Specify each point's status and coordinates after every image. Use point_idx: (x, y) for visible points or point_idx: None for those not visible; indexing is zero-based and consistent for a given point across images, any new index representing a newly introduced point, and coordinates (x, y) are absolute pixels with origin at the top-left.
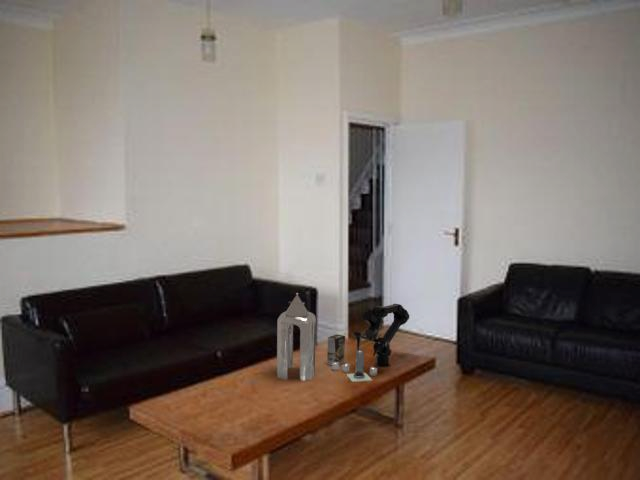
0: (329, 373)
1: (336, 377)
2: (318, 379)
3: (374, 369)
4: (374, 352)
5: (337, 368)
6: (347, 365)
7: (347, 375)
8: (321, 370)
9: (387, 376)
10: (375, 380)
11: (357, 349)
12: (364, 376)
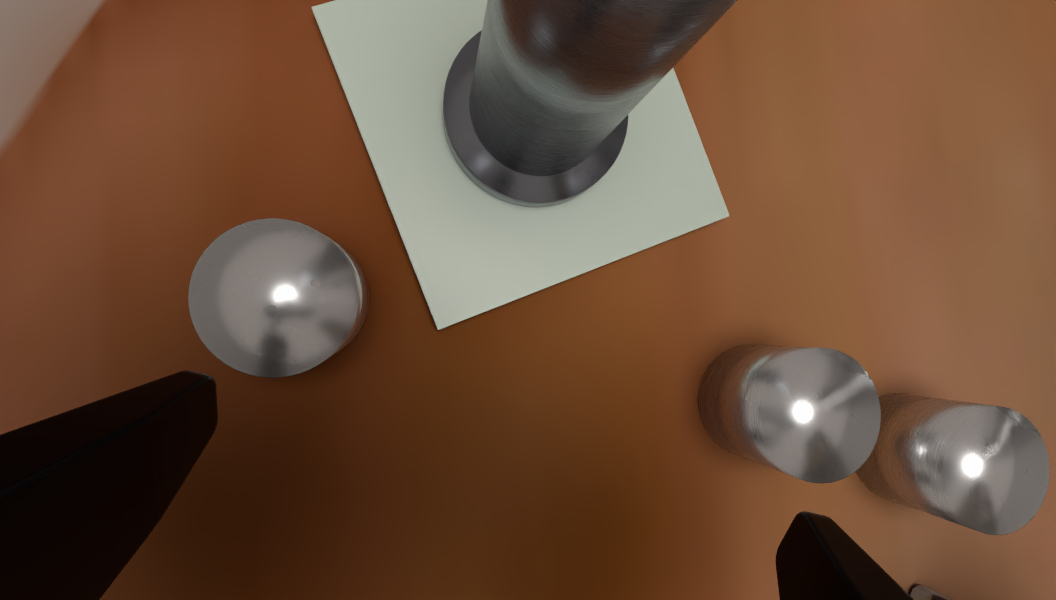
0: (943, 256)
1: (837, 109)
2: (1027, 9)
3: (251, 221)
4: (88, 427)
5: (887, 413)
6: (790, 355)
7: (709, 164)
8: (1053, 358)
9: (29, 273)
10: (256, 44)
11: (848, 543)
12: (446, 82)
